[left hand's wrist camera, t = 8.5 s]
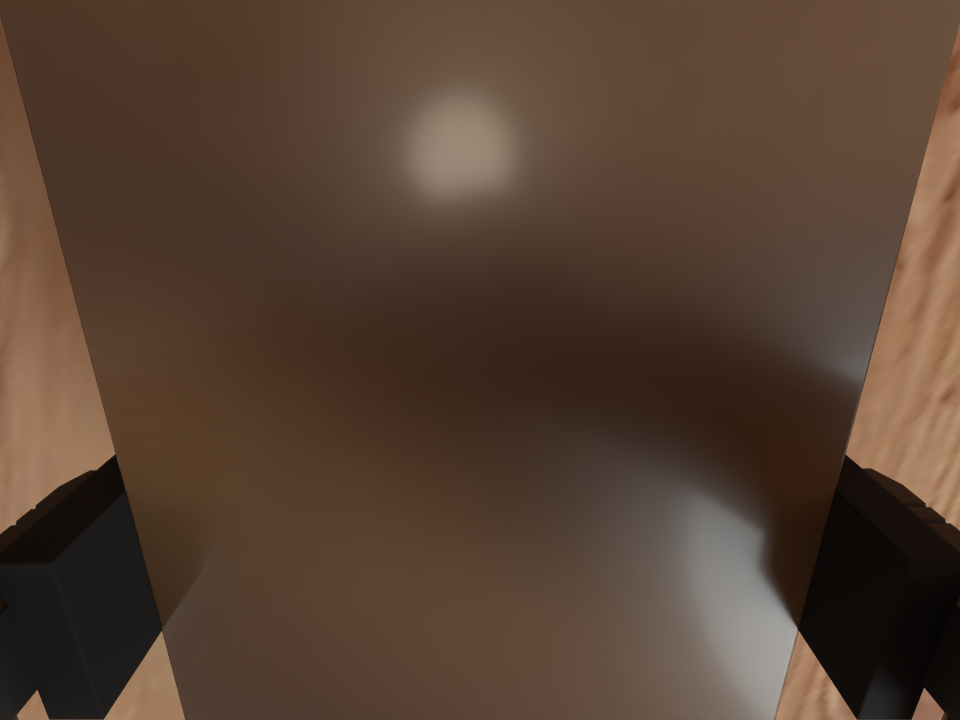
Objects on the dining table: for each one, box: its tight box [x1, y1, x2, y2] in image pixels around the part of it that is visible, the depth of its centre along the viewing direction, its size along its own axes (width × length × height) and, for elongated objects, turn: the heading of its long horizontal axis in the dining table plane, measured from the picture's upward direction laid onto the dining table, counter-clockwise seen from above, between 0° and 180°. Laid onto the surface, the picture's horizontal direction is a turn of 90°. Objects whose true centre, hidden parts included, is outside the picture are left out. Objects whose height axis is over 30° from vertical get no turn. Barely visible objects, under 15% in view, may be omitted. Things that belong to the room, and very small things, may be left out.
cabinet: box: [0, 0, 960, 720], centre depth 11 cm, size 19×10×8 cm, turn 0°
